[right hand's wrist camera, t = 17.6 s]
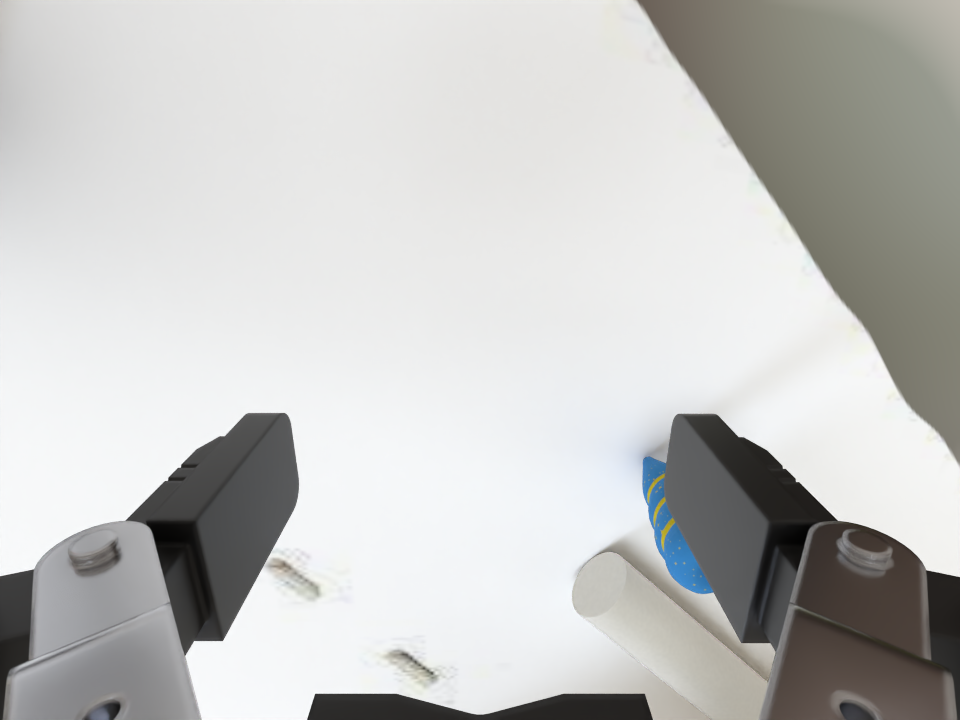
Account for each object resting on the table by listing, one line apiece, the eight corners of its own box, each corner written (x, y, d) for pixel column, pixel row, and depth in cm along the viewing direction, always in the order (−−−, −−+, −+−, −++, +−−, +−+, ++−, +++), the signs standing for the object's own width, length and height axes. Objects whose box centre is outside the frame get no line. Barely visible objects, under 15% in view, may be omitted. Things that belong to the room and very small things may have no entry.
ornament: (605, 461, 44) (663, 598, 30) (648, 419, 43) (730, 542, 29) (648, 494, 46) (723, 640, 32) (691, 454, 44) (790, 588, 30)
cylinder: (566, 577, 49) (578, 632, 43) (616, 539, 48) (635, 589, 42) (733, 713, 55) (763, 776, 50) (781, 682, 54) (818, 744, 48)
